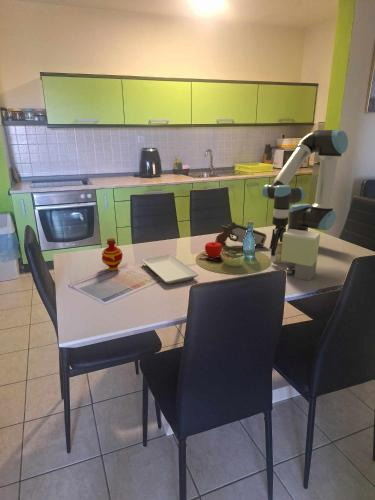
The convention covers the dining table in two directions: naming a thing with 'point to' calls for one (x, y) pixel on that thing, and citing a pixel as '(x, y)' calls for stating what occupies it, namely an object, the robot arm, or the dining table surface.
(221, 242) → the gun
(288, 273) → the token
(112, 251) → the red yellow vase
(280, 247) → the blade tool
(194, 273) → the tray
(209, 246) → the apple
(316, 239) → the pale green stepped block
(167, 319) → the dining table surface
